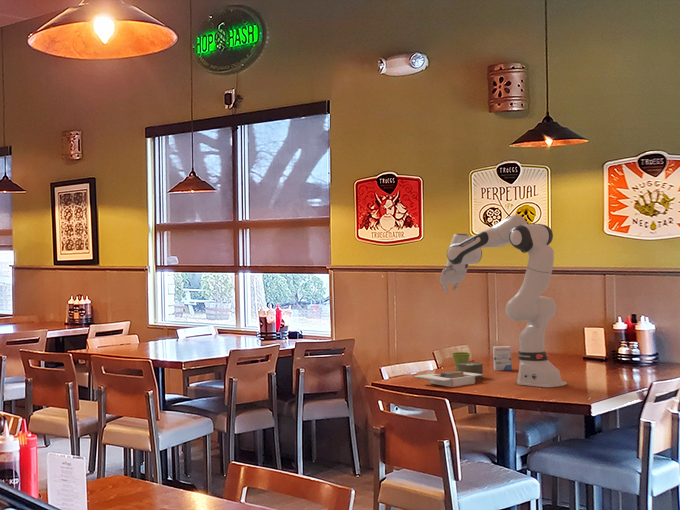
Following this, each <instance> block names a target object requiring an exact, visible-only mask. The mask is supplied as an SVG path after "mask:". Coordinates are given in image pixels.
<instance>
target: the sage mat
mask: <svg viewBox="0 0 680 510" xmlns="http://www.w3.org/2000/svg"><path fill="white" fill-rule="evenodd" d="M436 374H437V373H427V374H420V375H413V378H416V379H421V380H428V381H429V379H427V378H421V377H422V376H429V375H436Z"/></svg>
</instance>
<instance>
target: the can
mask: <svg viewBox="0 0 680 510" xmlns="http://www.w3.org/2000/svg"><path fill="white" fill-rule="evenodd" d="M483 364H484V363H482V362H478V361H469V362H461V363H457V365H458V371H461V372H470V373H477V374H483V371H484V370H483V366H484V365H483ZM483 378H484V374H483V375H482V376H475V380H481V379H483Z"/></svg>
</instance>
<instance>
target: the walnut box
mask: <svg viewBox="0 0 680 510" xmlns="http://www.w3.org/2000/svg"><path fill="white" fill-rule="evenodd" d="M439 374H440V377H444V378H451V379H453V378H459V377H464V376H463V372H461V371H457V370H454V371H453V370H452V371H446V372H445V371H444V372H440V373H439Z"/></svg>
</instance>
